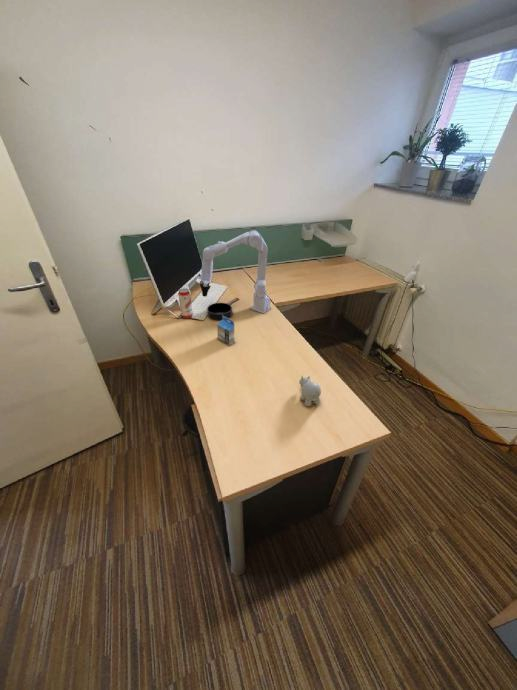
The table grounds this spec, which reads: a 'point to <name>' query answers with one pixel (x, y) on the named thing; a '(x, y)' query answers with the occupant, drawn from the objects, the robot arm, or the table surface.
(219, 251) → the robot arm
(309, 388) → the chubby cartoon animal
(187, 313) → the beer can
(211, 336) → the table surface
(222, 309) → the pan
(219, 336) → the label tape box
